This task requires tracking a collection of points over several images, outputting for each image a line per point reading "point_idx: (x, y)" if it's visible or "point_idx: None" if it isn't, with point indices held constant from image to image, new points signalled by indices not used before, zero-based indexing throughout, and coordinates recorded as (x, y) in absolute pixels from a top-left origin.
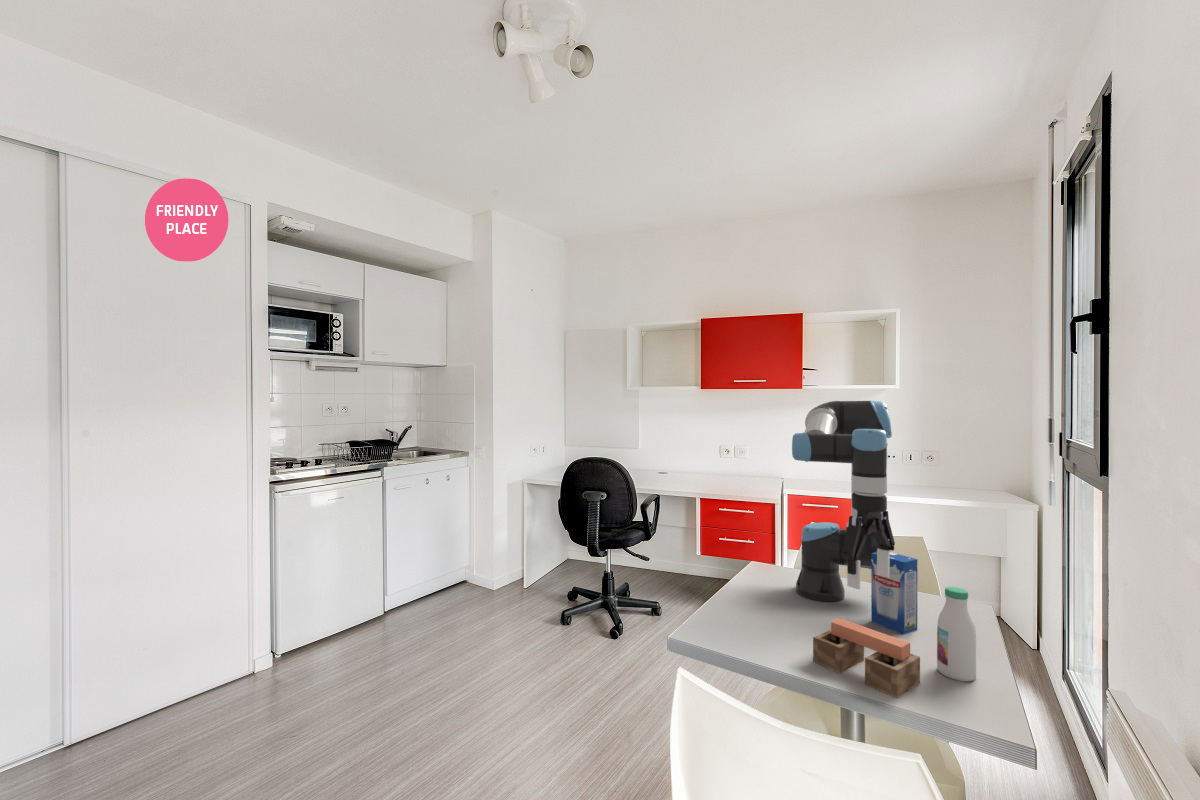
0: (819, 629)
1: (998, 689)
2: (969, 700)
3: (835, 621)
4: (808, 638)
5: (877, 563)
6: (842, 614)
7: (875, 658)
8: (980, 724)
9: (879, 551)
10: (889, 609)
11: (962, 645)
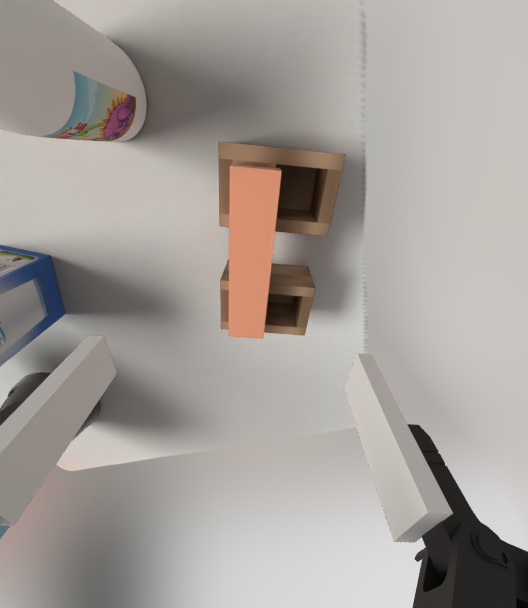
0: (182, 348)
1: None
2: (213, 7)
3: (253, 334)
4: (228, 345)
5: (83, 420)
6: None
7: (306, 220)
8: None
9: (19, 499)
10: (24, 302)
11: (72, 22)
